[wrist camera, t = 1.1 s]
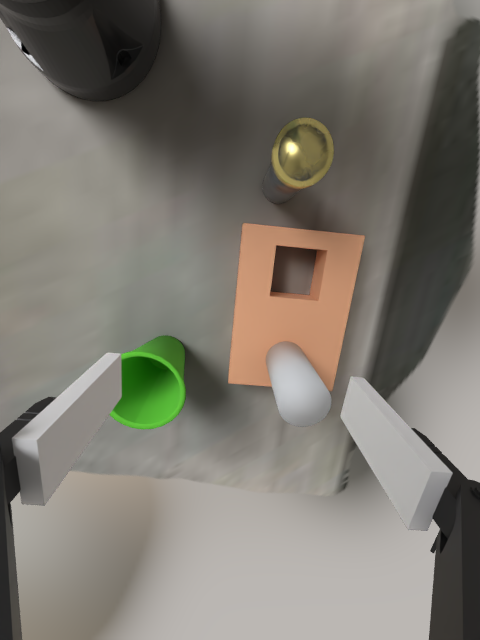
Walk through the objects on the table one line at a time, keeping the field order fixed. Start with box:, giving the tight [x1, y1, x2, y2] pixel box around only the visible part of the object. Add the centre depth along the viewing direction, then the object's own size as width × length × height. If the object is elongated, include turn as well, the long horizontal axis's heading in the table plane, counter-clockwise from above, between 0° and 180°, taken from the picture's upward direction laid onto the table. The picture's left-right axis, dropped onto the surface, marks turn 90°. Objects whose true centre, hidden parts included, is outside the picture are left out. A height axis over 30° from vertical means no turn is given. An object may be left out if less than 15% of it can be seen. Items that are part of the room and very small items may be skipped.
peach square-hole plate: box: [228, 223, 365, 427], centre depth 30 cm, size 20×14×14 cm
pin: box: [263, 118, 334, 204], centre depth 27 cm, size 5×5×12 cm
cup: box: [109, 336, 186, 429], centre depth 33 cm, size 9×9×11 cm
